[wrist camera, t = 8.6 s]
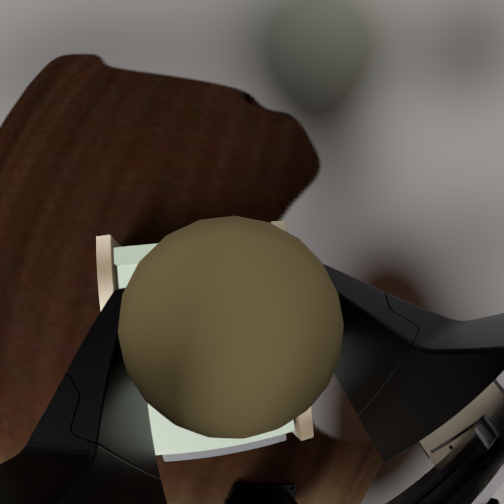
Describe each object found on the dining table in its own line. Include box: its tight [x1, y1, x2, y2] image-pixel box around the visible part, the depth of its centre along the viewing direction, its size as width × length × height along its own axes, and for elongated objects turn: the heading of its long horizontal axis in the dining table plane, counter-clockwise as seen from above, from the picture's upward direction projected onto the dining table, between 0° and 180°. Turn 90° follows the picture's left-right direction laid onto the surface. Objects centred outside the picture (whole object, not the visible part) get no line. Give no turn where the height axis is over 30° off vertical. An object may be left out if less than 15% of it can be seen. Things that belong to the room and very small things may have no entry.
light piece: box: [114, 243, 295, 462], centre depth 17 cm, size 15×10×3 cm, turn 8°
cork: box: [118, 216, 344, 439], centre depth 10 cm, size 6×6×11 cm
